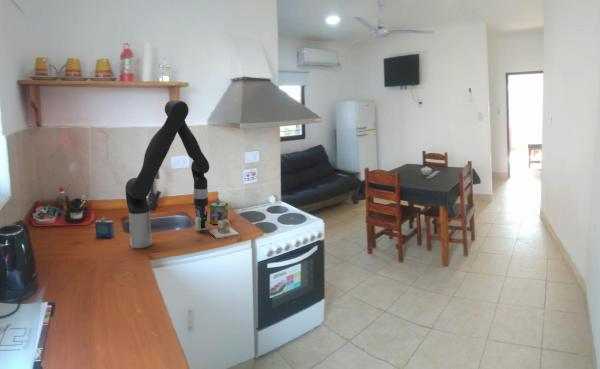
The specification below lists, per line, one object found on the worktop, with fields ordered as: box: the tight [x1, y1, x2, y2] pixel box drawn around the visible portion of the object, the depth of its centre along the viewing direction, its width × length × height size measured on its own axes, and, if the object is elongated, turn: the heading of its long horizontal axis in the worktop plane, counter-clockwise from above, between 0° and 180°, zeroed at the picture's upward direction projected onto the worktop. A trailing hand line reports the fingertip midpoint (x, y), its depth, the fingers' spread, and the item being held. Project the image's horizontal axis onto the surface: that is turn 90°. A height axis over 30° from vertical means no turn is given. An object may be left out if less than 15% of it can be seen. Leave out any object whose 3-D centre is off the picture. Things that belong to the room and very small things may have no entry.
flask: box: [94, 217, 115, 240], centre depth 187 cm, size 9×3×11 cm, turn 87°
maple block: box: [217, 219, 231, 234], centre depth 197 cm, size 5×5×6 cm
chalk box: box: [208, 197, 229, 224], centre depth 215 cm, size 9×9×15 cm
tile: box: [208, 226, 240, 239], centre depth 198 cm, size 12×12×1 cm
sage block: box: [194, 216, 208, 231], centre depth 199 cm, size 5×5×6 cm
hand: (201, 226), depth 199 cm, fingers closed on sage block, 5 cm apart
